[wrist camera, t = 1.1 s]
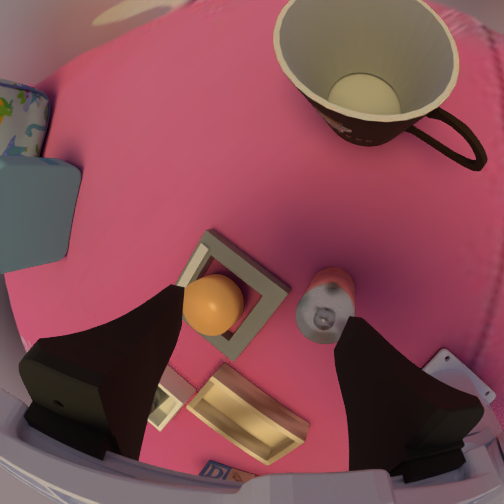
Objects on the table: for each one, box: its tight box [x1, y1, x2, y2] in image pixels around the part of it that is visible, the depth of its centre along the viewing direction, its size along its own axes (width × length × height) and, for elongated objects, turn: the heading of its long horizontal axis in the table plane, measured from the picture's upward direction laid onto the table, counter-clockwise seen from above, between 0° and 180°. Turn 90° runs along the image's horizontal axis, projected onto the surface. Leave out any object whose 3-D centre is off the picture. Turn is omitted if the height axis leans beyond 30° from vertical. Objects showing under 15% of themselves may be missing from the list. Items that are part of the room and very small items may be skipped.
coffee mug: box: [273, 0, 487, 171], centre depth 14 cm, size 12×9×10 cm
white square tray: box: [148, 365, 196, 431], centre depth 28 cm, size 7×7×3 cm
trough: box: [186, 363, 310, 466], centre depth 24 cm, size 10×6×3 cm, turn 56°
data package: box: [0, 155, 81, 274], centre depth 25 cm, size 12×4×12 cm, turn 157°
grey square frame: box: [175, 229, 291, 362], centre depth 24 cm, size 8×8×2 cm
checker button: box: [183, 274, 244, 336], centre depth 22 cm, size 4×4×2 cm
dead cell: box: [149, 386, 170, 415], centre depth 25 cm, size 3×3×6 cm
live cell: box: [296, 267, 355, 344], centre depth 18 cm, size 3×3×6 cm
